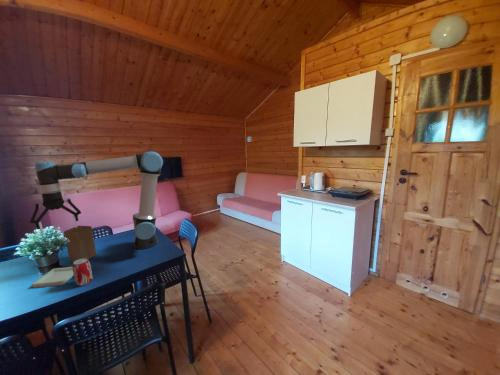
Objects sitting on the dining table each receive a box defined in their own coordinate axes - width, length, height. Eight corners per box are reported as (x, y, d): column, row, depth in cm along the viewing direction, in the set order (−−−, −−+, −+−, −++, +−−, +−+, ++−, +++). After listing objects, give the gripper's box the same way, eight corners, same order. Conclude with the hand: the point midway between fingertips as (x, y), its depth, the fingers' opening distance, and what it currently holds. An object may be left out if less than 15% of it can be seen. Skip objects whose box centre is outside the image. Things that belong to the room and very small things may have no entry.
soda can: (90, 285, 107) (85, 263, 105) (73, 288, 105) (68, 266, 103) (95, 277, 114) (91, 256, 111) (79, 279, 112) (75, 258, 109)
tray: (81, 269, 122) (80, 265, 121) (63, 284, 108) (62, 281, 108) (54, 271, 120) (53, 268, 120) (32, 288, 107) (31, 284, 106)
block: (82, 263, 128) (76, 232, 124) (69, 262, 130) (62, 231, 126) (97, 255, 138) (91, 225, 134) (84, 254, 140) (78, 224, 136)
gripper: (80, 187, 122) (88, 222, 126) (17, 195, 106) (28, 235, 110) (82, 188, 116) (89, 225, 120) (15, 197, 100) (26, 240, 104)
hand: (60, 230), depth 115 cm, fingers open, 13 cm apart
